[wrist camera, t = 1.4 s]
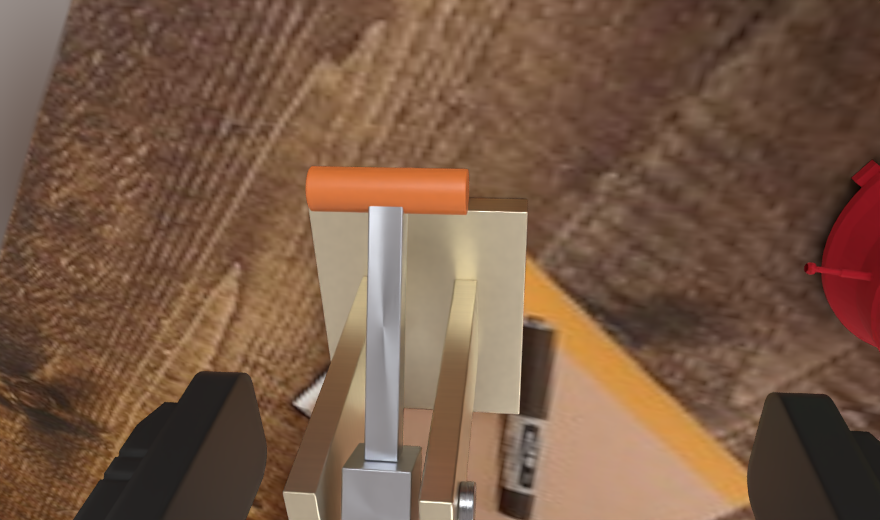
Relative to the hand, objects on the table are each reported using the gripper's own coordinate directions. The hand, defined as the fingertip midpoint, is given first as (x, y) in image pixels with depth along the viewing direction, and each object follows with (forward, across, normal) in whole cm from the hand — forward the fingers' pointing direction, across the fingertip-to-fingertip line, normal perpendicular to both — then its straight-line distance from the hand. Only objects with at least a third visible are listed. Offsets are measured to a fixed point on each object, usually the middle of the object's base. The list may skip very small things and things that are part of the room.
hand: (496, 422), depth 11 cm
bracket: (+18, +4, +10) cm, 21 cm away
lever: (+10, +4, +7) cm, 13 cm away
